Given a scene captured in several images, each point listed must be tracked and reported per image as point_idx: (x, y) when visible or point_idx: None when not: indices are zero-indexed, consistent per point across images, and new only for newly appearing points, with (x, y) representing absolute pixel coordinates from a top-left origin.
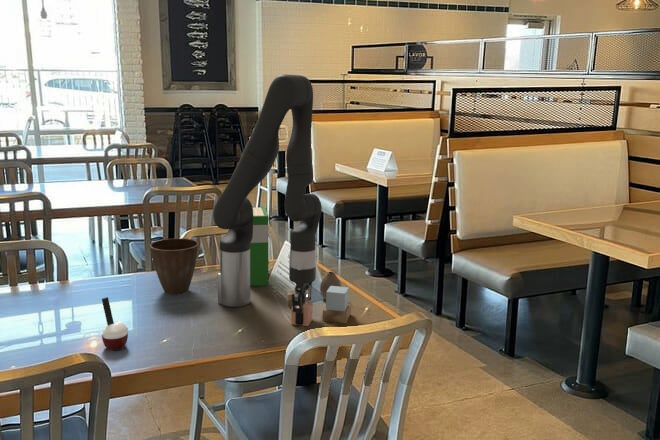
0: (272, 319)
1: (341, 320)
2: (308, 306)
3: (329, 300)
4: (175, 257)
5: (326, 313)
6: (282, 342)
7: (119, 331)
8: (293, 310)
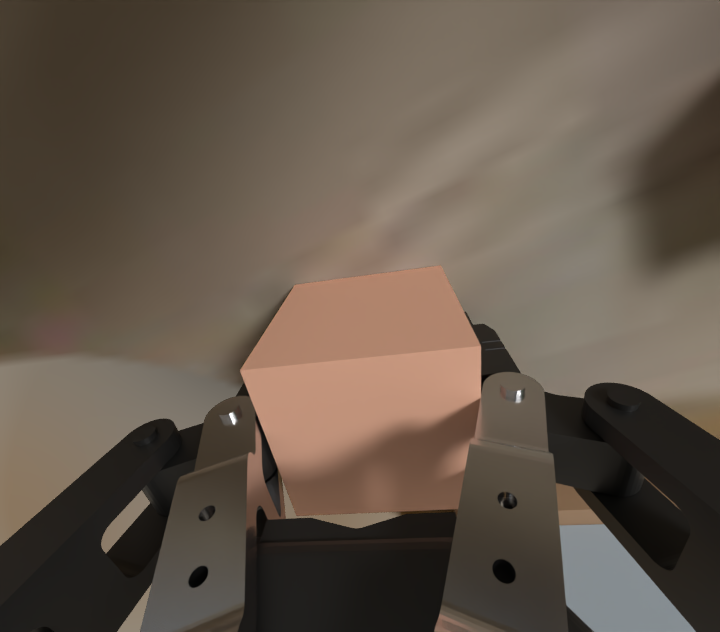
0: (310, 52)
1: None
2: (374, 498)
3: None
4: None
5: None
6: (6, 349)
7: None
8: (124, 448)
